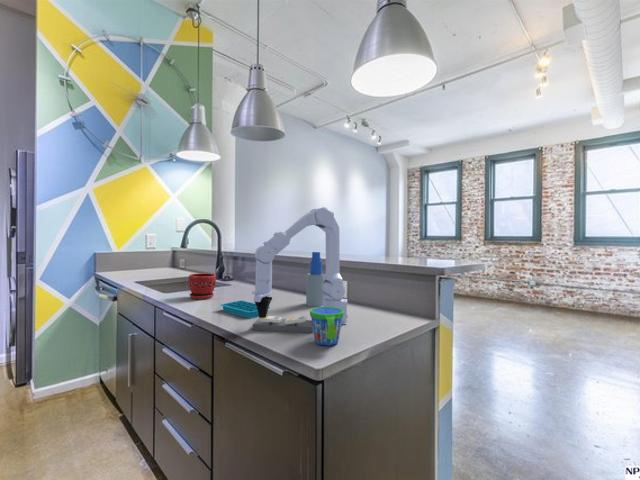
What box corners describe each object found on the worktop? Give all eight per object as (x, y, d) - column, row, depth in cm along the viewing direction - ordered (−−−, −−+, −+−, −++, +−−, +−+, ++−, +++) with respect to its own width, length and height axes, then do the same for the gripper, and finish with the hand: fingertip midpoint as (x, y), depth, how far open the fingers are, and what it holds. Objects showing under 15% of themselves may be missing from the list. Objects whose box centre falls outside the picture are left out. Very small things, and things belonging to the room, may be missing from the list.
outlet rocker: (281, 319, 113) (281, 316, 113) (279, 322, 109) (279, 319, 109) (262, 318, 114) (262, 315, 114) (259, 321, 110) (259, 318, 110)
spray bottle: (302, 304, 149) (303, 251, 148) (313, 301, 156) (314, 251, 156) (317, 307, 144) (318, 252, 143) (328, 304, 151) (329, 251, 150)
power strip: (314, 325, 116) (314, 318, 116) (311, 332, 108) (312, 324, 108) (259, 323, 118) (259, 315, 118) (252, 329, 110) (252, 321, 110)
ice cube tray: (241, 306, 145) (241, 300, 145) (271, 314, 133) (271, 307, 132) (219, 311, 136) (219, 304, 136) (249, 320, 123) (249, 312, 123)
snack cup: (309, 334, 106) (309, 304, 106) (340, 334, 107) (340, 304, 107) (309, 351, 91) (310, 316, 91) (346, 351, 91) (346, 316, 91)
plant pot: (199, 301, 152) (199, 277, 152) (183, 298, 160) (183, 274, 159) (221, 297, 163) (221, 274, 163) (205, 294, 171) (205, 272, 170)
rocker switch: (306, 318, 112) (306, 315, 112) (305, 321, 108) (304, 318, 108) (287, 321, 113) (287, 318, 113) (285, 324, 109) (284, 321, 109)
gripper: (258, 276, 119) (258, 312, 119) (245, 282, 105) (244, 322, 105) (277, 277, 118) (276, 313, 119) (266, 283, 104) (265, 324, 104)
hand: (262, 317), depth 112 cm, fingers closed, pressing on outlet rocker
